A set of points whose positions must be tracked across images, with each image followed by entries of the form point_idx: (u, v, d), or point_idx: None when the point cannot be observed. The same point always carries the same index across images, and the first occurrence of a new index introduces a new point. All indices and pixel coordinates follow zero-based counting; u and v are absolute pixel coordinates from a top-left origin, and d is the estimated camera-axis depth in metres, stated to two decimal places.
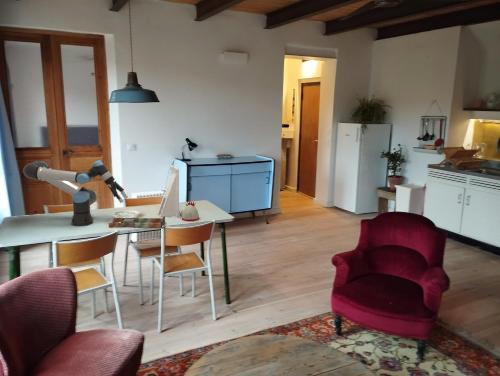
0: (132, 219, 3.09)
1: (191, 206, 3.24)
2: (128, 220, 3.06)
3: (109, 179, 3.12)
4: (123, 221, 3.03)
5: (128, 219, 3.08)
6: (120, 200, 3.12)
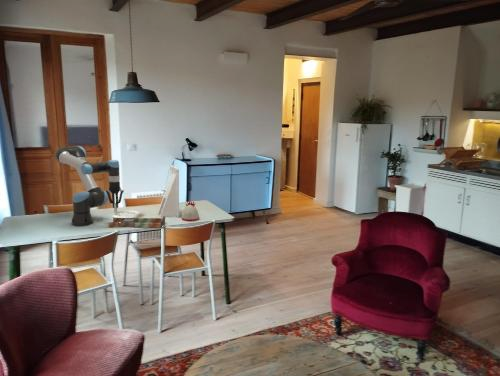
0: (132, 219, 3.09)
1: (191, 206, 3.24)
2: (128, 220, 3.06)
3: (109, 183, 2.99)
4: (123, 221, 3.03)
5: (128, 219, 3.08)
6: None
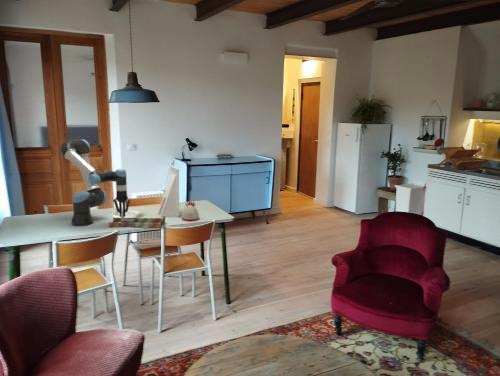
0: (132, 219, 3.09)
1: (191, 206, 3.24)
2: (128, 220, 3.06)
3: (116, 192, 3.00)
4: (123, 221, 3.03)
5: (128, 219, 3.08)
6: None
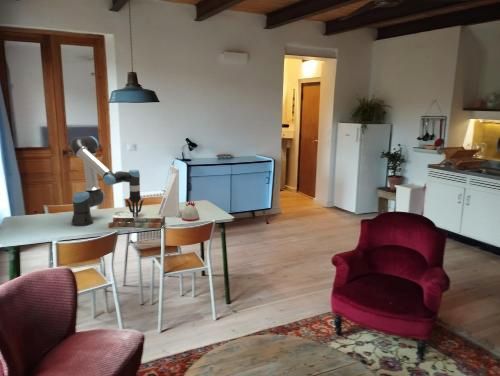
0: (145, 219, 3.10)
1: (191, 206, 3.24)
2: (141, 220, 3.07)
3: None
4: (136, 221, 3.04)
5: (141, 219, 3.10)
6: None
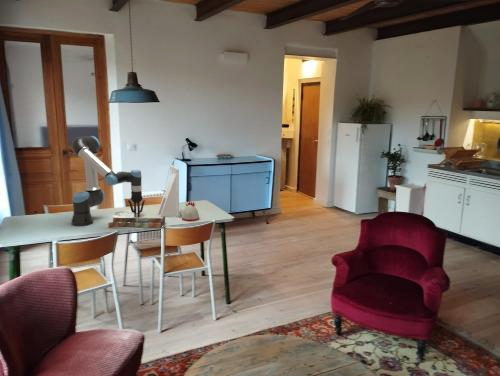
0: (146, 219, 3.10)
1: (191, 206, 3.24)
2: (143, 220, 3.07)
3: (131, 193, 3.01)
4: (138, 221, 3.04)
5: (142, 219, 3.10)
6: None
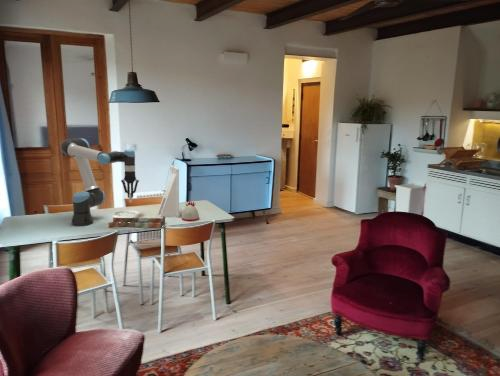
0: (146, 219, 3.10)
1: (191, 206, 3.24)
2: (143, 220, 3.07)
3: None
4: (138, 221, 3.04)
5: (142, 219, 3.10)
6: None
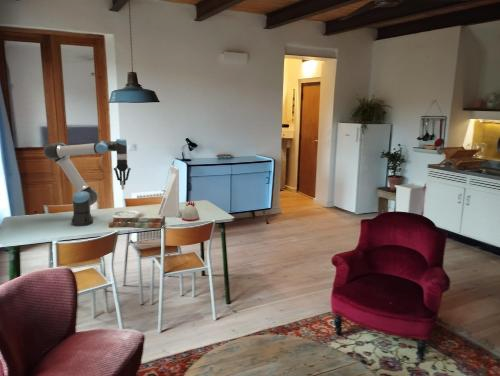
0: (146, 219, 3.10)
1: (191, 206, 3.24)
2: (143, 220, 3.07)
3: (117, 161, 3.11)
4: (138, 221, 3.04)
5: (143, 219, 3.10)
6: None
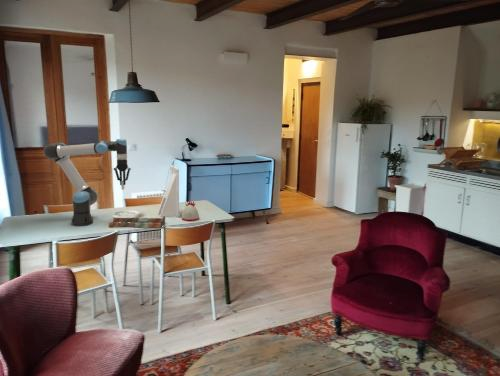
0: (146, 219, 3.10)
1: (191, 206, 3.24)
2: (143, 220, 3.07)
3: (117, 161, 3.11)
4: (138, 221, 3.04)
5: (143, 219, 3.10)
6: None
